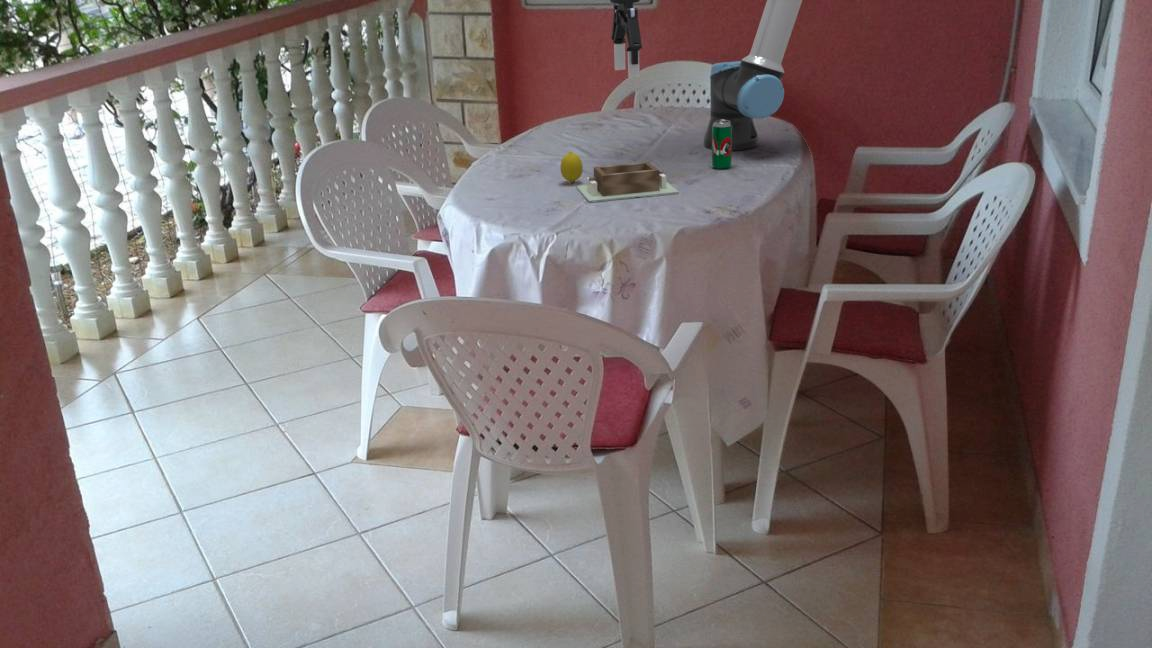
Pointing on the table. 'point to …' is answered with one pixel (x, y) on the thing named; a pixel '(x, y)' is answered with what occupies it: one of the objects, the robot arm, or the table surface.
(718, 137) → the soda can
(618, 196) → the wall board
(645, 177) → the brown wooden open box
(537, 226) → the table surface
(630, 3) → the robot arm
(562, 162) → the lemon
